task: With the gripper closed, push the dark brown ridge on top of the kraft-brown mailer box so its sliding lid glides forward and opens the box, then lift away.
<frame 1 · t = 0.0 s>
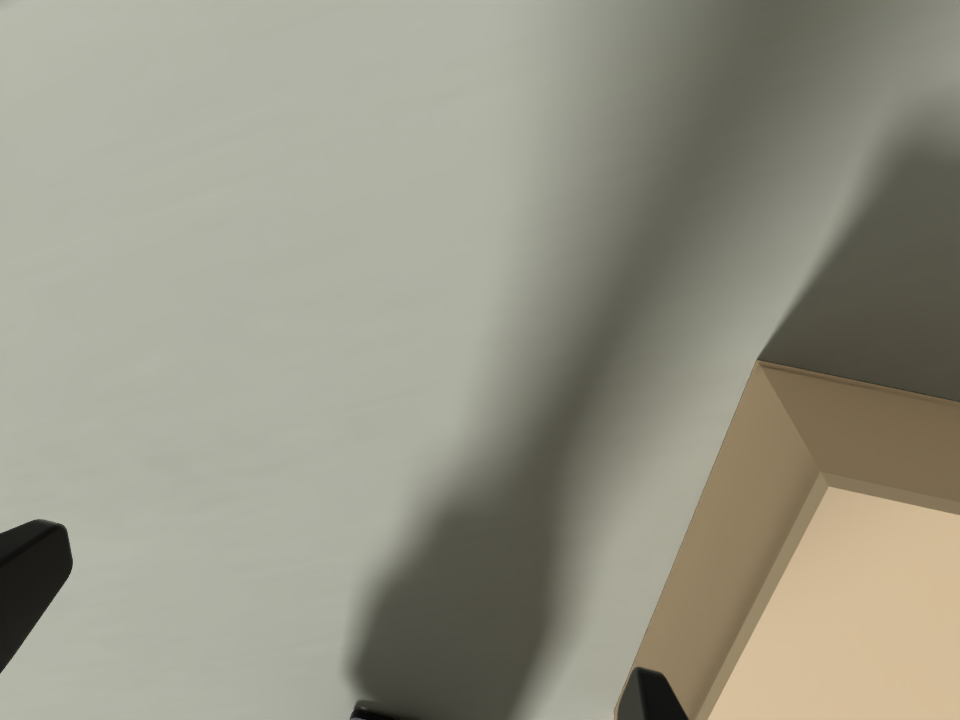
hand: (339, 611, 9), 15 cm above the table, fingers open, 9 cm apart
mailer box: (863, 610, 26), on the table
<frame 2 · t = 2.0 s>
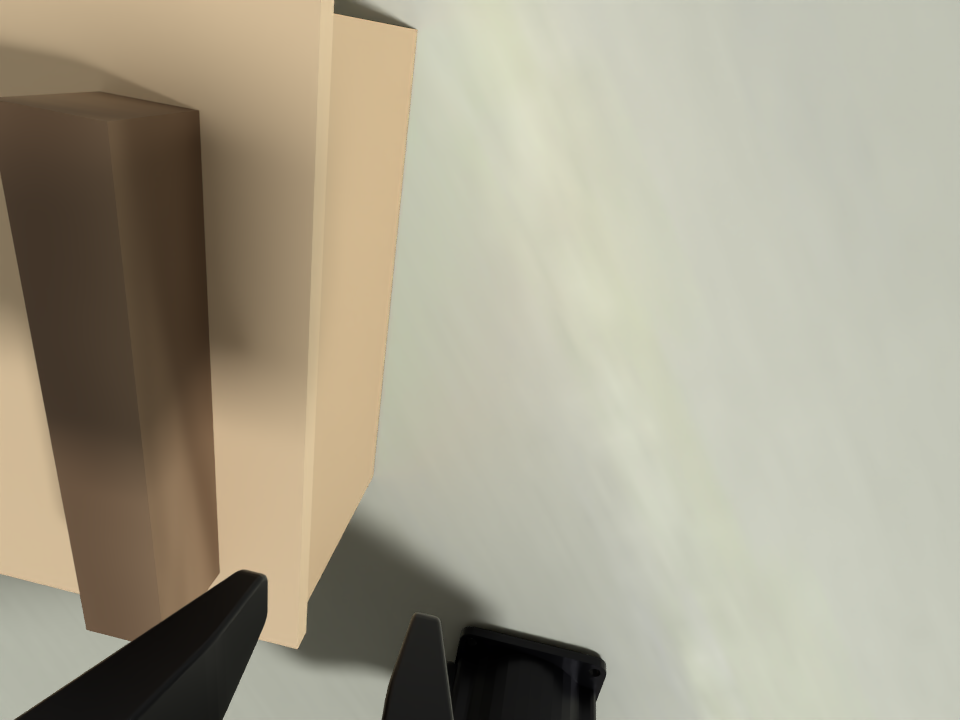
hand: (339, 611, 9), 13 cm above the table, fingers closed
mailer box: (119, 233, 22), on the table
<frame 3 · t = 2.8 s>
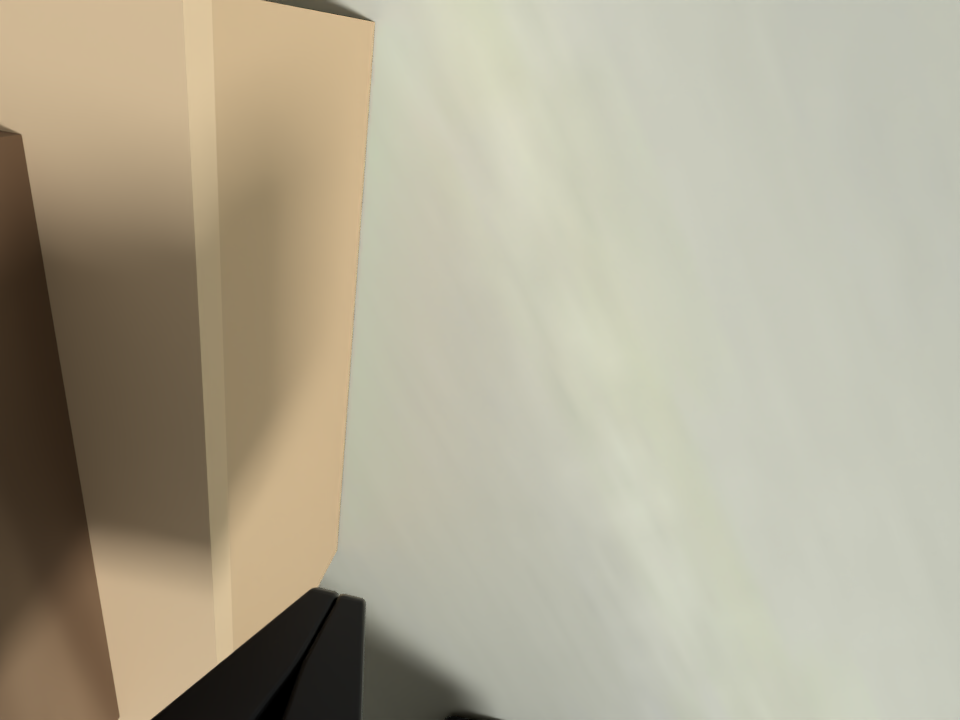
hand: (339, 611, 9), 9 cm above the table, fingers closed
mailer box: (25, 269, 18), on the table
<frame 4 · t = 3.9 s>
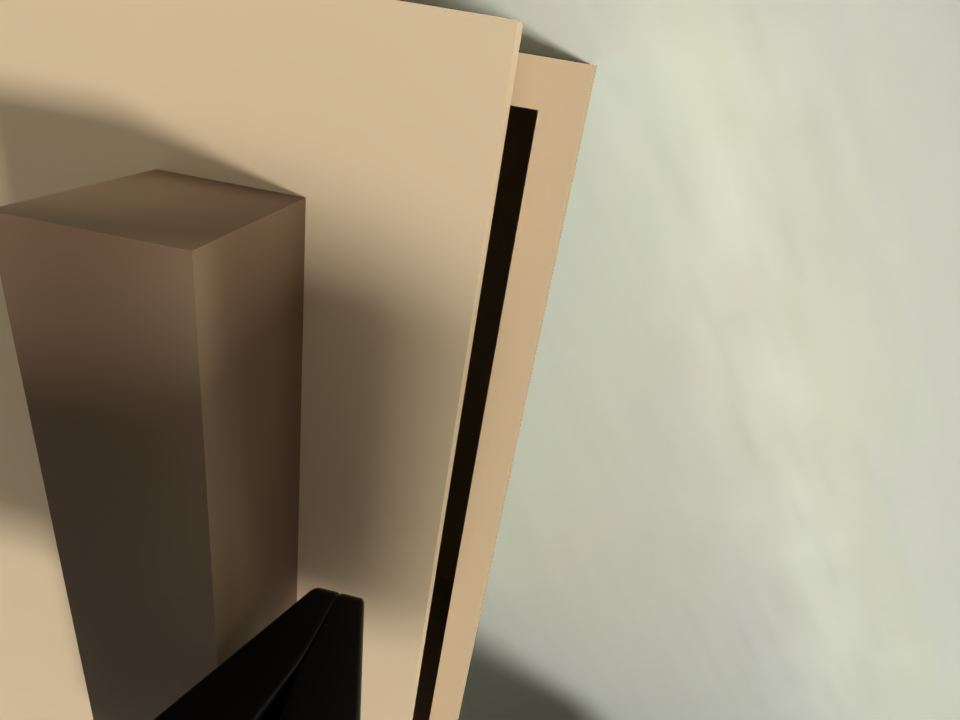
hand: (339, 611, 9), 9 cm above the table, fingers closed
mailer box: (188, 309, 18), on the table
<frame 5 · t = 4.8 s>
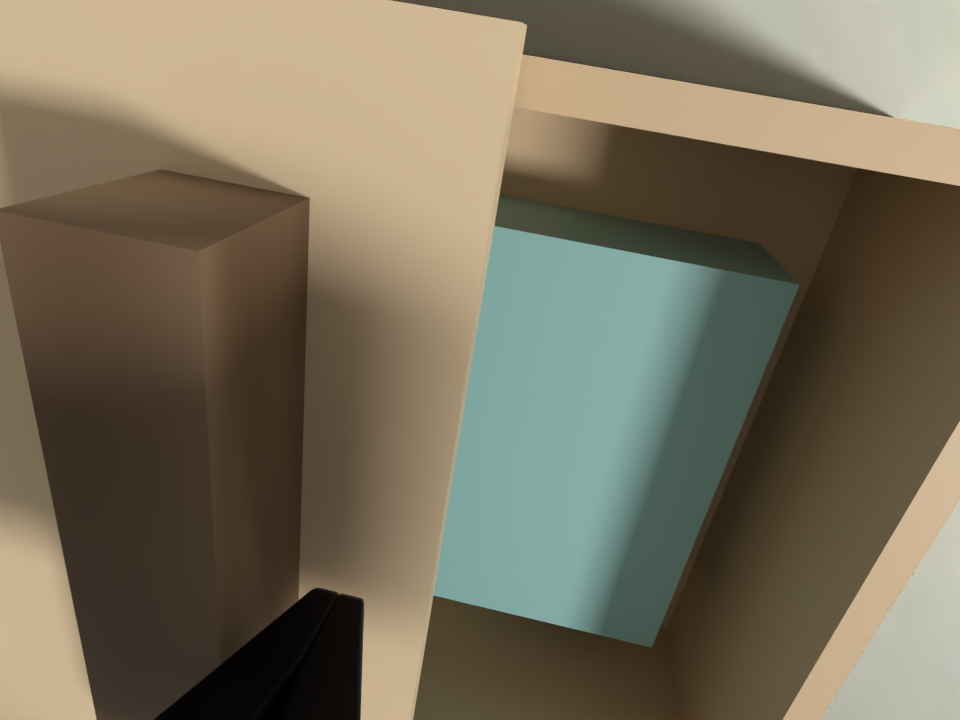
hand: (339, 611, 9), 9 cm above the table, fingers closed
mailer box: (407, 354, 18), on the table
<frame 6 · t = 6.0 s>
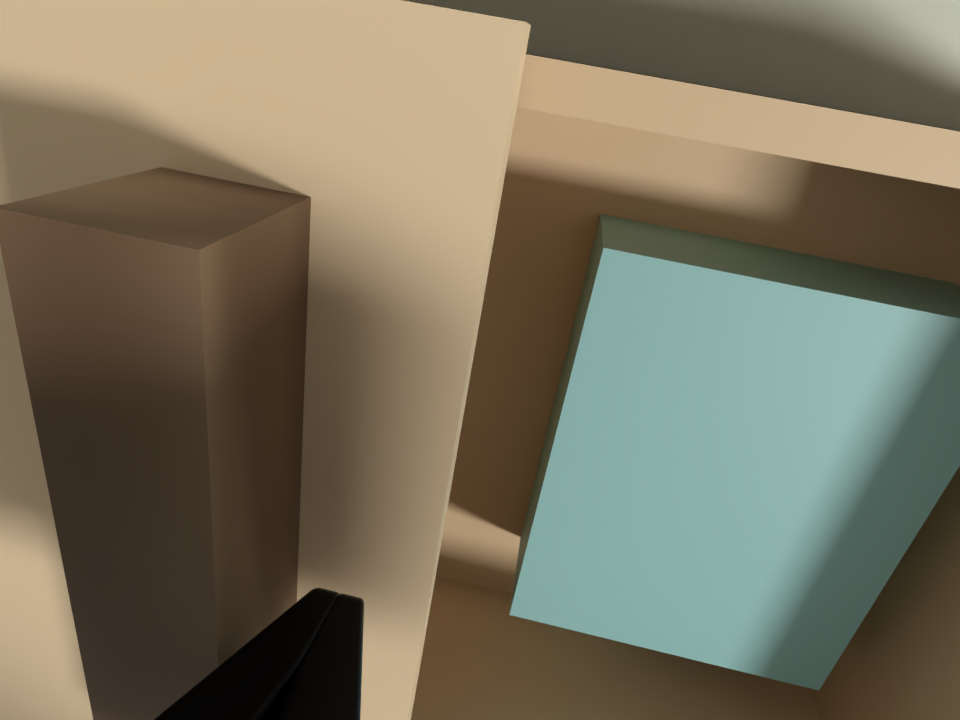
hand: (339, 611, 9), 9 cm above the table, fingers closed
mailer box: (556, 386, 17), on the table
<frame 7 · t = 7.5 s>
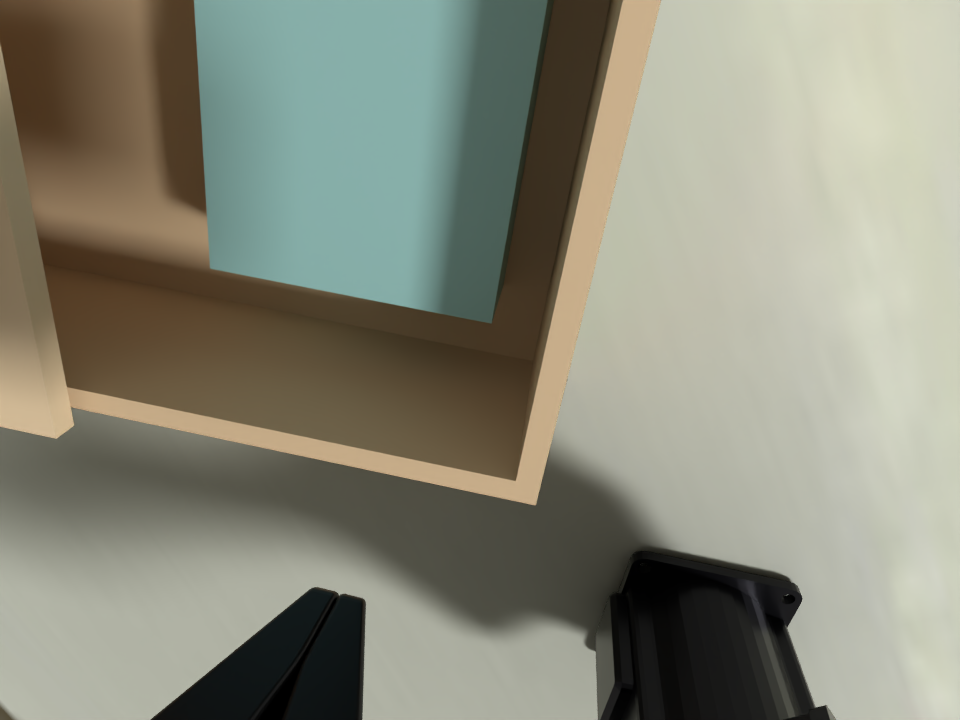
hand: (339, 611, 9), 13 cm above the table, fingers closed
mailer box: (265, 68, 18), on the table
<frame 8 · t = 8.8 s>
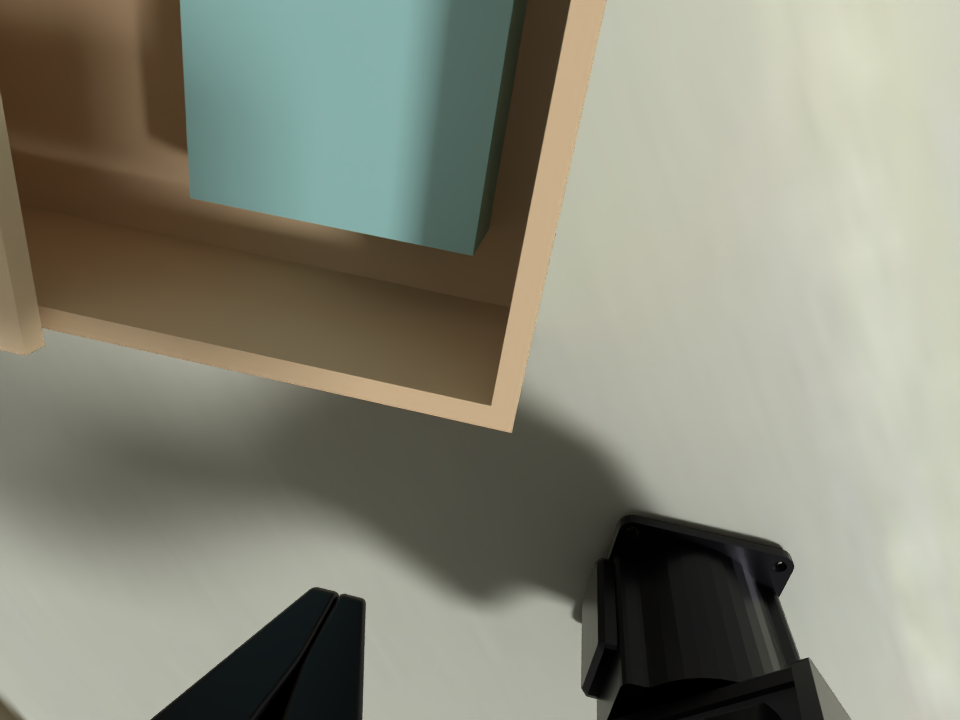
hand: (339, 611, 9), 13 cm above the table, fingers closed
mailer box: (252, 3, 18), on the table
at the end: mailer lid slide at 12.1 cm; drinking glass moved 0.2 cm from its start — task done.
